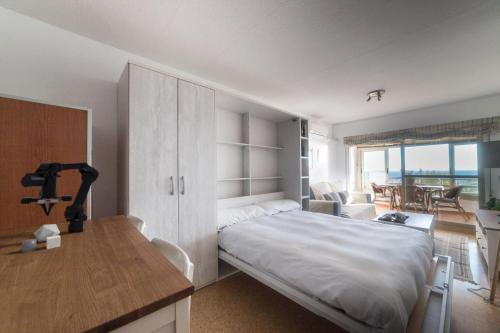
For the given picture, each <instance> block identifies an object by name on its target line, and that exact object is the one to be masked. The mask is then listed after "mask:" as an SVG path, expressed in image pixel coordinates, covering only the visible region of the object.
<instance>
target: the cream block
mask: <svg viewBox="0 0 500 333" xmlns="http://www.w3.org/2000/svg"><path fill="white" fill-rule="evenodd" d="M61 240H62V238H61V235H59V234H58V235H57V236H52V237H47V241H46V249H47V250H50V249H53V248H58V247H61Z"/></svg>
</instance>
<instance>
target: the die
mask: <svg viewBox="0 0 500 333" xmlns="http://www.w3.org/2000/svg"><path fill="white" fill-rule="evenodd" d="M60 233H61V232H60V230H59V228H58V225H57V224H56V223H53V224H51V223H50V224H43V225H41V226H40V227H39V228H38V229H37V230H36V231H34V232H33V235H34V236H35V239H37V241H38V243H39V242H40V243H43V242H47V237H52V236H58V235H59V234H60Z"/></svg>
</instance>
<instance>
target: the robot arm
mask: <svg viewBox="0 0 500 333" xmlns="http://www.w3.org/2000/svg"><path fill="white" fill-rule="evenodd" d="M68 170H77V171H78V173H79V174H80V175H81V176H80V179H81V184H80V186H79V187H78V188H79V189H78V191H77V194H76V196H75V198H74V200H73V195H71V194H67V195H64V194H63V195H62V196H58V191H57V185H58V184H57V182H58V180H57V179H58V178H62V175H60V174H59V173H60V172H63V171H68ZM99 175H100V173H99V171H98V170H97V169H95V167H93V166H91V165H89V164H88V163H87V162H86V161H85V162H84V161H83V162H82V161H81V162H79V161H78V162H69V163H68V162H67V163H62V162H53V161H52V162H45V161H44V162H42V163H40V164H39V167H38V168H36V169H35V171H34V172H32V173H31V172H29V173H28V172H27V173H26V172H25V173H24V176H23V177H21V179H20V184H21V187H24V188H36V187H37V188H38V187H40V190H39V192H38V197H39V198H38V197H37V198H36V197H35V196H28V197H23V198H21V199H20V205H26V204H31V203H36V202H37V206H40V207H41V208H42V210H43V212H44V214H45V215H46V217H49V216H50V214H51V213H52V210H53V208H54V206H55V205H57V204H58V203H59V201H62V202H72V201H73V203H72V204H71V205H67V206H66V207H65V210H64V211H63V213H64V214H63V216H64V218H65V221H66V222H67V223H68V225H67V232H68V234H73V233H81V232H84V230H85V229H84V224H85V223H84V222H85V221H87V220H88V216H87V215H86V214H85V213H84V212H85V207H84V204H85V202H86V200H87V199H86V198H87V196H88V194H89V192H90V189H91V187H92V184H93V183H95V181H97V180H98V177H99ZM48 202H49V203H48Z"/></svg>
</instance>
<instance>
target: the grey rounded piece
mask: <svg viewBox="0 0 500 333" xmlns="http://www.w3.org/2000/svg"><path fill="white" fill-rule="evenodd" d="M37 241H38V240H37V238H30V239H26V240H22V241H21V253H30V252H33V251H36V250H37Z"/></svg>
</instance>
